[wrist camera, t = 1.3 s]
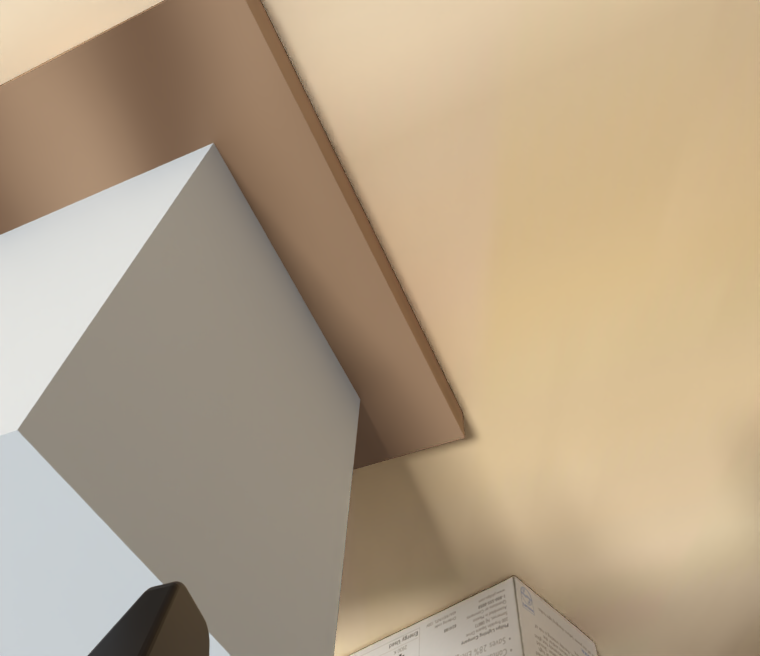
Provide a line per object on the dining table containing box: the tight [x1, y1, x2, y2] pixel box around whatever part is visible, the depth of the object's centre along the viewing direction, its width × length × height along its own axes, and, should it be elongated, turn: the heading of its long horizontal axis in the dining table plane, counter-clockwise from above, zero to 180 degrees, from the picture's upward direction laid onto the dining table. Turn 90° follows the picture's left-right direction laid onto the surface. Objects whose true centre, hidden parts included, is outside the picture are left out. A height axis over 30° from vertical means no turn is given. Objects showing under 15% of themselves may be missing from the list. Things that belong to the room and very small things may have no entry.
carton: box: [0, 143, 360, 656], centre depth 17 cm, size 9×9×10 cm
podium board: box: [0, 0, 465, 470], centre depth 22 cm, size 20×15×1 cm
